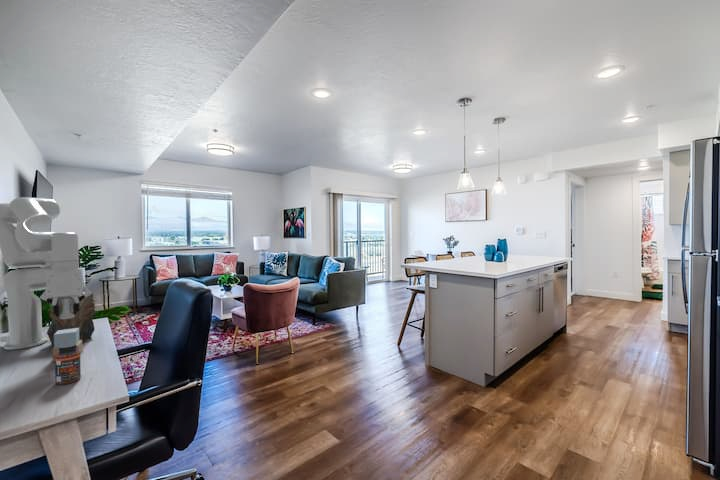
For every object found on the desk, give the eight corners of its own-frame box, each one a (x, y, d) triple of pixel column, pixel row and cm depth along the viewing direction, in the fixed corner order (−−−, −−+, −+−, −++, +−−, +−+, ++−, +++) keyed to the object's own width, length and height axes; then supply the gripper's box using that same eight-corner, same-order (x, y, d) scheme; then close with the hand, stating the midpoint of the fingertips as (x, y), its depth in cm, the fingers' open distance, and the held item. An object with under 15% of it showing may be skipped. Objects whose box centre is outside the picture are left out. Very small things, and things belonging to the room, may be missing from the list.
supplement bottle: (59, 387, 95) (57, 350, 95) (52, 382, 99) (51, 346, 98) (84, 379, 100) (83, 344, 100) (77, 375, 104) (76, 340, 103)
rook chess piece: (56, 320, 116) (56, 298, 115) (61, 317, 120) (60, 296, 119) (72, 318, 118) (72, 296, 118) (76, 315, 122) (76, 294, 121)
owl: (45, 345, 131) (43, 297, 131) (77, 335, 144) (75, 291, 143) (71, 347, 129) (69, 298, 129) (101, 337, 142) (99, 292, 141)
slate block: (54, 348, 114) (53, 334, 114) (58, 343, 120) (57, 330, 119) (76, 345, 118) (75, 331, 118) (79, 340, 123) (79, 327, 123)
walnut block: (53, 362, 114) (52, 349, 114) (58, 356, 120) (57, 343, 120) (79, 358, 118) (78, 345, 118) (82, 352, 124) (82, 339, 124)
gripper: (30, 268, 110) (32, 320, 111) (93, 264, 119) (94, 313, 120) (36, 266, 117) (38, 315, 117) (96, 263, 126) (97, 309, 126)
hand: (67, 313), depth 118 cm, fingers closed on rook chess piece, 4 cm apart
